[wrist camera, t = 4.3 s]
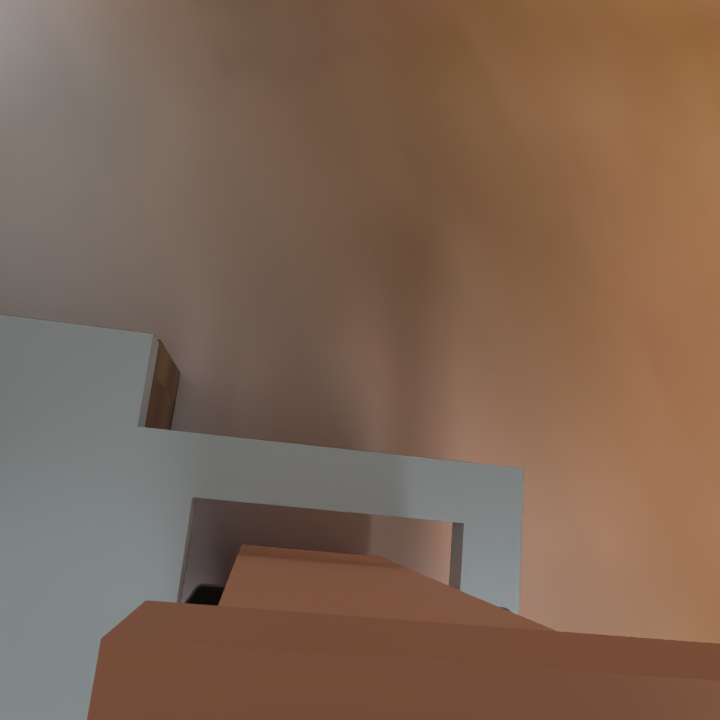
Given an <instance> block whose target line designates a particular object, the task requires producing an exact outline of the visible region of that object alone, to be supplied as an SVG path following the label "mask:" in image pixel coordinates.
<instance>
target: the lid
mask: <svg viewBox="0 0 720 720" xmlns="http://www.w3.org/2000/svg"><path fill="white" fill-rule="evenodd" d="M158 346H159V342H158V341H157V339H156V337H155V336H154V334H151V333H143V332H135V331H127V330H119V329H111V328H103V327H95V326H88V325H80V324H72V323H64V322H56V321H48V320H40V319H32V318H24V317H17V316H9V315H1V314H0V720H87V716H88V711H89V705H90V699H91V693H92V687H93V682H94V676H95V670H96V664H97V659H98V653H99V647H100V641H101V638H102V637H103V636H105V635H106V634H107V633H108V632H109V631H110V630H112V629H113V628H114V627H115V626H116V625H118V624H119V623H120V622H121V621H122V620H123V619H125V618H126V617H127V616H128V615H129V614H130V613H132V612H133V611H134V610H135V609H136V608H137V607H139V606H140V605H141V604H142V603H143V602H144V601H146V600H149V601H162V602H175V603H181V596H182V589H183V582H184V575H185V569H186V562H187V555H188V548H189V542H190V535H191V528H192V521H193V515H194V508H195V501H196V498H205V499H215V500H226V501H236V502H246V503H257V504H267V505H278V506H288V507H299V508H309V509H319V510H330V511H340V512H351V513H361V514H371V515H382V516H392V517H403V518H413V519H424V520H434V521H444V522H453V526H452V543H451V560H450V577H449V586H450V587H453V588H455V589H457V590H460V591H462V592H465V593H467V594H469V595H472V596H474V597H476V598H479V599H481V600H484V601H486V602H488V603H491V604H493V605H496V606H498V607H504V608H507V609H509V610H510V611H511V612H512V613H515V614H517V615H519V594H520V566H521V538H522V510H523V483H524V468H515V467H506V466H497V465H487V464H478V463H469V462H460V461H451V460H441V459H432V458H423V457H414V456H404V455H395V454H386V453H377V452H368V451H358V450H349V449H340V448H331V447H321V446H312V445H303V444H294V443H285V442H275V441H266V440H257V439H248V438H239V437H229V436H220V435H211V434H202V433H192V432H183V431H174V430H165V429H156V428H146V427H145V423H146V417H147V411H148V405H149V399H150V393H151V387H152V381H153V376H154V370H155V364H156V358H157V352H158Z"/></svg>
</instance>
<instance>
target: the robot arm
mask: <svg viewBox="0 0 720 720" xmlns="http://www.w3.org/2000/svg"><path fill="white" fill-rule="evenodd" d="M224 589H225V586H224V585H216V584H199V585H198V586H197V587H196V588H195V589H194V590H193V592H192V593H191V595H190V596H189V598H188V599H187V601H186V602H185V603H188V604H201V605H215V606H218V604H219V602H220V599H221V597H222V594H223V591H224ZM500 608H503V609H505V610H507V611H510V610H509V609H507V608H504V607H500ZM510 612H511V611H510Z"/></svg>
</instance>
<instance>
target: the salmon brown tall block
mask: <svg viewBox="0 0 720 720" xmlns="http://www.w3.org/2000/svg"><path fill="white" fill-rule="evenodd" d="M87 720H720V644H715V643H701V642H688V641H675V640H662V639H649V638H636V637H622V636H609V635H596V634H583V633H570V632H558V631H555V630H553V629H550V628H548V627H546V626H543V625H541V624H539V623H536V622H534V621H531V620H529V619H527V618H524V617H522V616H519V615H517V614H515V613H512V612H510V611H507V610H505V609H503V608H500V607H498V606H496V605H493V604H491V603H488V602H486V601H484V600H481V599H479V598H476V597H474V596H472V595H469V594H467V593H465V592H462V591H460V590H457V589H455V588H453V587H450V586H448V585H445V584H443V583H441V582H438V581H436V580H434V579H431V578H429V577H426V576H424V575H422V574H419V573H417V572H414V571H412V570H410V569H407V568H405V567H403V566H400V565H398V564H395V563H393V562H391V561H388V560H386V559H383V558H381V557H379V556H368V555H356V554H345V553H334V552H322V551H311V550H300V549H288V548H277V547H266V546H254V545H243V544H242V545H241V548H240V550H239V553H238V555H237V558H236V561H235V563H234V566H233V568H232V571H231V573H230V576H229V579H228V581H227V584H226V586H225V589H224V591H223V594H222V597H221V599H220V602H219V604H218V606H215V605H201V604H188V603H175V602H162V601H149V600H146V601H144V602H143V603H142V604H141V605H140V606H139V607H137V608H136V609H135V610H134V611H133V612H132V613H130V614H129V615H128V616H127V617H126V618H125V619H123V620H122V621H121V622H120V623H119V624H118V625H116V626H115V627H114V628H113V629H112V630H110V631H109V632H108V633H107V634H106V635H105V636H103V637H102V638H101V641H100V647H99V653H98V659H97V664H96V670H95V676H94V682H93V687H92V693H91V699H90V705H89V711H88V716H87Z"/></svg>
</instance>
